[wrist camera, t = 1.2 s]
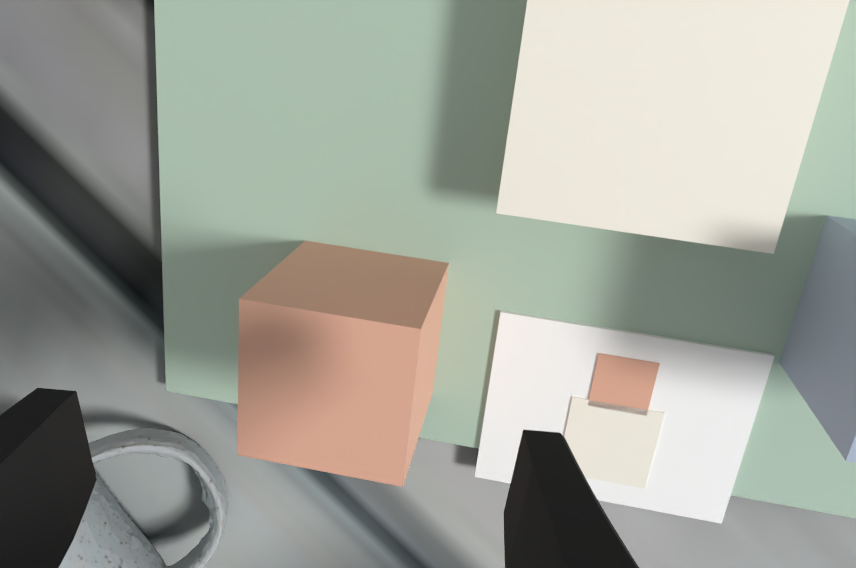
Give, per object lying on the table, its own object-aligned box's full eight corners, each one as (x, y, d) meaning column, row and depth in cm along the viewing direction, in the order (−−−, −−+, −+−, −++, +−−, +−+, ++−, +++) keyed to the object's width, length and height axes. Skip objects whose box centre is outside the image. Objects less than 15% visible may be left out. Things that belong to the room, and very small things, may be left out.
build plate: (854, 509, 22) (861, 519, 22) (173, 383, 25) (165, 391, 25) (1073, -42, 17) (1088, -44, 16) (159, -131, 19) (150, -134, 19)
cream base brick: (752, 232, 20) (773, 253, 18) (501, 196, 20) (495, 213, 18) (831, -45, 17) (865, -54, 15) (541, -74, 18) (539, -86, 16)
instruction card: (720, 520, 23) (721, 524, 23) (475, 473, 24) (474, 477, 23) (773, 354, 21) (775, 357, 20) (500, 310, 21) (500, 312, 21)
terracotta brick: (432, 393, 23) (402, 486, 18) (299, 369, 23) (236, 454, 19) (449, 262, 21) (420, 329, 17) (305, 240, 22) (239, 298, 17)
